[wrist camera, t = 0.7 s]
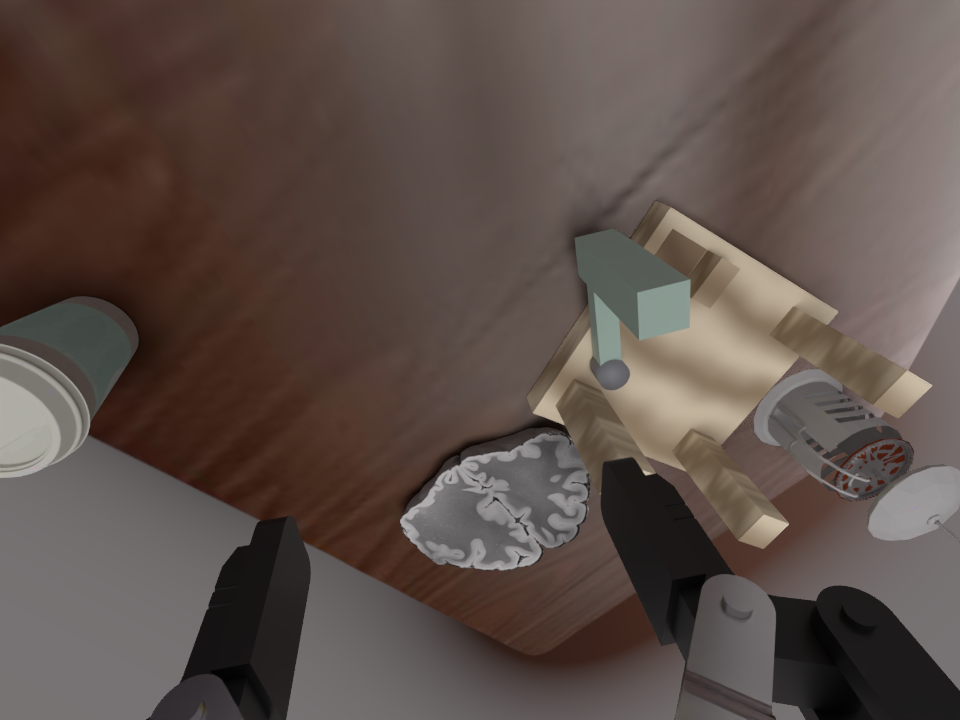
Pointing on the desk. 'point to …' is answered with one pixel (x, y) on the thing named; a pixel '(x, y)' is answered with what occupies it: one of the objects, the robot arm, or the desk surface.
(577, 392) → the stool seat
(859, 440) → the french press
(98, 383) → the coffee cup
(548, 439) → the brain slice
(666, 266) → the hinged leg
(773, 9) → the desk surface
